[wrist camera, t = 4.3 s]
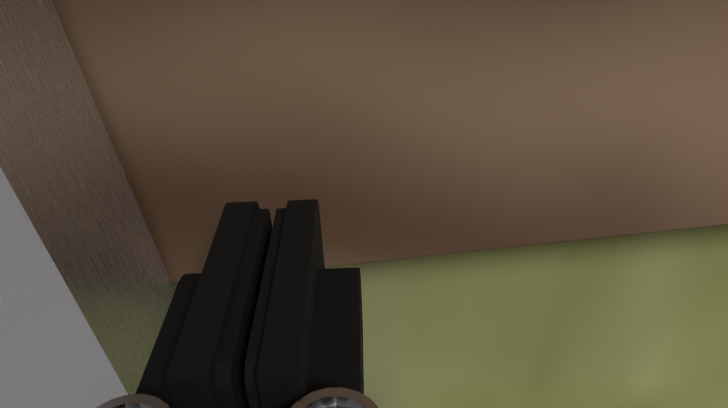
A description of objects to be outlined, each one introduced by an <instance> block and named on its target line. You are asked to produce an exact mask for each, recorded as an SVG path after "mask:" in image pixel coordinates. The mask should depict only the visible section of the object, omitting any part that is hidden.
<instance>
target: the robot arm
mask: <svg viewBox="0 0 728 408" xmlns="http://www.w3.org/2000/svg"><path fill="white" fill-rule="evenodd" d="M96 408H378V407H377V405H376V404H375V403H374V402H373V401H372V400H371V399H370V398H368V397H367V396H365V395H364V377H363V323H362V297H361V277H360V268H336V269H325V264H324V253H323V243H322V232H321V222H320V211H319V203H318V199H308V200H288V202H287V206H286V208H277V209H276V213H275V218H274V223H273V228H272V221H271V215H270V211H269V209H260V208H259V204H258V202H257V201H252V202H228V203H226V204H225V206H224V209H223V212H222V215H221V218H220V221H219V224H218V227H217V229H216V232H215V235H214V238H213V241H212V244H211V247H210V250H209V253H208V256H207V259H206V261H205V264H204V267H203V270H202V273H191V274H184V275H183V276H182V277H181V279H180V280H179V282H178V285H177V287H176V290H175V293H174V295H173V298H172V300H171V303H170V306H169V308H168V311H167V313H166V316H165V318H164V321H163V324H162V326H161V329H160V331H159V334H158V337H157V339H156V342H155V344H154V347H153V350H152V352H151V355H150V357H149V360H148V362H147V365H146V368H145V370H144V373H143V375H142V378H141V381H140V383H139V386H138V388H137V391H136V393H135V394H128V395H124V396H121V397H117V398H114V399H111V400H109V401H107V402H105V403H103V404H101V405H99V406H97V407H96Z"/></svg>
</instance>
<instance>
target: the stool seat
mask: <svg viewBox="0 0 728 408" xmlns="http://www.w3.org/2000/svg"><path fill="white" fill-rule="evenodd" d="M52 2H53V4H54V7H55V9H56V11H57V14H58V16H59V18H60V21H61V23H62V26H63V28H64V30H65V33H66V35H67V37H68V40H69V42H70V44H71V47H72V49H73V52H74V54H75V56H76V59H77V61H78V63H79V66H80V68H81V71H82V73H83V75H84V78H85V80H86V82H87V85H88V87H89V89H90V92H91V94H92V97H93V99H94V101H95V104H96V106H97V108H98V111H99V113H100V116H101V118H102V120H103V123H104V125H105V127H106V130H107V132H108V135H109V137H110V139H111V142H112V144H113V146H114V149H115V151H116V153H117V156H118V158H119V161H120V163H121V165H122V168H123V170H124V172H125V175H126V177H127V180H128V182H129V184H130V187H131V189H132V191H133V194H134V196H135V198H136V201H137V203H138V206H139V208H140V210H141V213H142V215H143V217H144V220H145V222H146V225H147V227H148V229H149V232H150V234H151V236H152V239H153V241H154V243H155V246H156V248H157V251H158V253H159V255H160V258H161V260H162V262H163V265H164V267H165V270H166V272H167V274H168V277H169V279H170V281H171V283H174V282H179V280H180V279H181V277H182V276H183V275H184V274H191V273H202V270H203V267H204V264H205V261H206V259H207V256H208V253H209V250H210V247H211V244H212V241H213V238H214V235H215V232H216V229H217V227H218V224H219V221H220V218H221V215H222V212H223V209H224V206H225V204H226V203H228V202H252V201H257V202H258V204H259V208H260V209H269V211H270V215H271V221H272V228H273V223H274V218H275V213H276V209H277V208H286V206H287V202H288V200H308V199H318V203H319V211H320V222H321V232H322V243H323V253H324V264H325V267H326V266H335V265H345V264H354V263H364V262H373V261H383V260H392V259H402V258H411V257H420V256H430V255H439V254H449V253H458V252H468V251H477V250H487V249H496V248H506V247H515V246H525V245H534V244H544V243H553V242H563V241H572V240H582V239H591V238H601V237H610V236H620V235H629V234H639V233H648V232H658V231H667V230H677V229H686V228H696V227H705V226H714V225H724V224H728V0H52Z"/></svg>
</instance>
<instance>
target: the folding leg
mask: <svg viewBox="0 0 728 408" xmlns="http://www.w3.org/2000/svg"><path fill="white" fill-rule="evenodd" d="M174 293H175V291H174V288H173V286H172V284H171V281H170V279H169V277H168V274H167V272H166V270H165V267H164V265H163V262H162V260H161V258H160V255H159V253H158V251H157V248H156V246H155V243H154V241H153V239H152V236H151V234H150V232H149V229H148V227H147V225H146V222H145V220H144V217H143V215H142V213H141V210H140V208H139V206H138V203H137V201H136V198H135V196H134V194H133V191H132V189H131V187H130V184H129V182H128V180H127V177H126V175H125V172H124V170H123V168H122V165H121V163H120V161H119V158H118V156H117V153H116V151H115V149H114V146H113V144H112V142H111V139H110V137H109V135H108V132H107V130H106V127H105V125H104V123H103V120H102V118H101V116H100V113H99V111H98V108H97V106H96V104H95V101H94V99H93V97H92V94H91V92H90V89H89V87H88V85H87V82H86V80H85V78H84V75H83V73H82V71H81V68H80V66H79V63H78V61H77V59H76V56H75V54H74V52H73V49H72V47H71V44H70V42H69V40H68V37H67V35H66V33H65V30H64V28H63V26H62V23H61V21H60V18H59V16H58V14H57V11H56V9H55V7H54V4H53V2H52V0H0V408H96V407H97V406H99V405H101V404H103V403H105V402H107V401H109V400H111V399H114V398H117V397H121V396H124V395H128V394H135V393H136V391H137V388H138V386H139V383H140V381H141V378H142V375H143V373H144V370H145V368H146V365H147V362H148V360H149V357H150V355H151V352H152V350H153V347H154V344H155V342H156V339H157V337H158V334H159V331H160V329H161V326H162V324H163V321H164V318H165V316H166V313H167V311H168V308H169V306H170V303H171V300H172V298H173V295H174Z"/></svg>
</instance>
